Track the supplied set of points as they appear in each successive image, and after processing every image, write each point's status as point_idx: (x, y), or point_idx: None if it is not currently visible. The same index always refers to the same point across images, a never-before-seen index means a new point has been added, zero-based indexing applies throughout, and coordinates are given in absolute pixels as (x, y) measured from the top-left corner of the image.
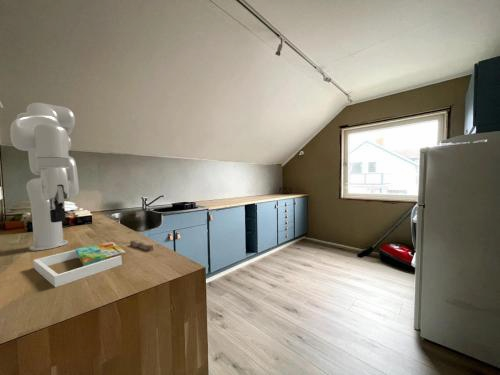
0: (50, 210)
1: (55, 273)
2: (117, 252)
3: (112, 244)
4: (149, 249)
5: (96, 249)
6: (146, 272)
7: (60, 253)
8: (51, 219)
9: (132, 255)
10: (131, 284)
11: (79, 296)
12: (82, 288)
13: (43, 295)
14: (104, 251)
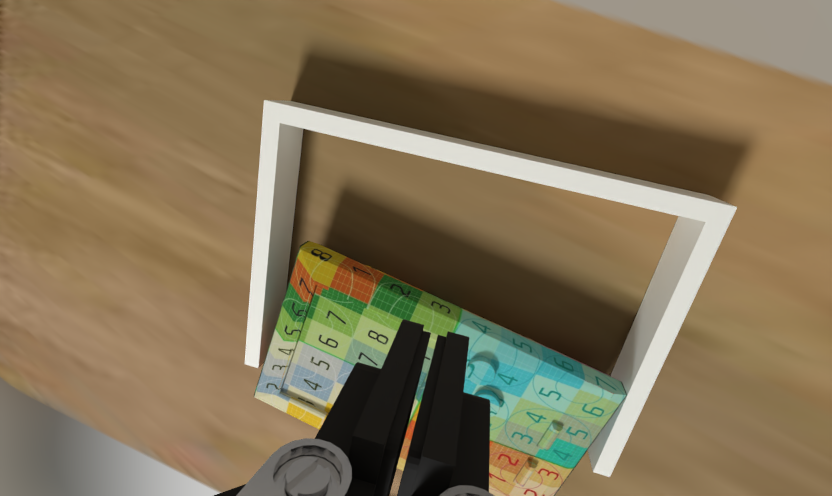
0: (425, 450)
1: (304, 123)
2: (273, 380)
3: None
4: None
5: None
6: (105, 302)
7: (672, 331)
8: (444, 350)
9: None
10: (59, 215)
11: (120, 93)
12: (177, 136)
13: (252, 40)
14: None
